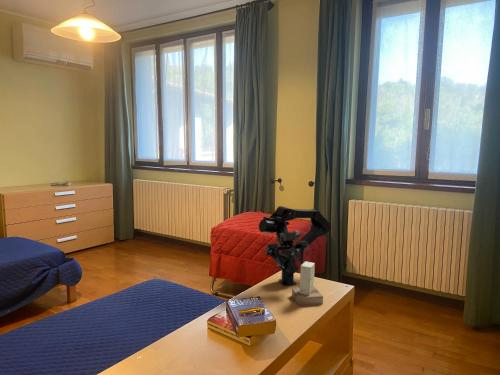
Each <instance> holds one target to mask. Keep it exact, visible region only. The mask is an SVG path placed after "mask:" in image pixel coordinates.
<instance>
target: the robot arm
mask: <svg viewBox="0 0 500 375" xmlns="http://www.w3.org/2000/svg"><path fill="white" fill-rule="evenodd" d="M295 219H310V223H311V225H310V229H309V231H308V232H307V233H305V235H303V236H302V237H301V233H300V231H299V230H294V231H292V232H290V231H289V230H288V226H289V225H290V222H289V221H294V220H295ZM258 230H259V232H260V233H265V234H275V236H276V239H275V240H276V242H278V244H277V243H276V242H274V243H273V242H272V243H268V244H267V246H266V247H265V249H264V253H265V255H266V256H268V257H271V258H272V259H273V260H274V261H275V264H276V265H277V267H278V269H280V270H281V278H279V279H278V281H279V282H280V284H281V285H282V286H290V285H291V286H292V285H297V282H296V281H295V279H294V278H295V275H294V274H296V273H298V270H299V266H298V265H297V264H296V263H297V260H298V262H299V264H300V266H301V265H302V264H303V263H304V252H306V250H308V248H309V247H310V245H312V243H314V242H315V241H316V240H317V239H318V238H321V237H324V236H326V235H327V234H328V233H330V231H331V223H330V222H329V221H328V220H327V218H325V216H324V215H322V213H321V211H320V210H317V209H314V208H312V209H297V208H296V209H295V208H289V207H286V206H283V205H279V206H277V208H276V210H275V211H274V212H273V213H272V214H271V215H270V217H267V216H263V219H261V220H260V222H259V224H258ZM300 237H301V238H300ZM299 238H300V239H299ZM298 239H299V240H298ZM297 240H298V241H297ZM295 241H297V242H296V243H295ZM294 243H295V244H294Z"/></svg>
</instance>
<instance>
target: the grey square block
mask: <svg viewBox="0 0 500 375" xmlns="http://www.w3.org/2000/svg"><path fill="white" fill-rule="evenodd" d="M299 292H300V287H292V288H291V297H292V298H293V300H294V301H295V302H296V303H297V305H298V307H304V306H306V305H308V306H319V305H323V304H324V295H323V294H322V293H321V292H320V291H319V290H318V289H317V288H316V287H315V286H314V288H313V291H312V293H311V294H310V295H304V294H300V293H299Z"/></svg>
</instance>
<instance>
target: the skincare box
mask: <svg viewBox="0 0 500 375" xmlns="http://www.w3.org/2000/svg"><path fill="white" fill-rule="evenodd" d="M315 264H316V263H315V262H312V261H306V260H305V261H303V264H302V265H301V264H300V274H299V275H300V276H299V288H300V292H299V293H300V294H304V295H310V294H311V293H312V291H313V288H314V287H315V284H314V283H315V266H316V265H315Z"/></svg>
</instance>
